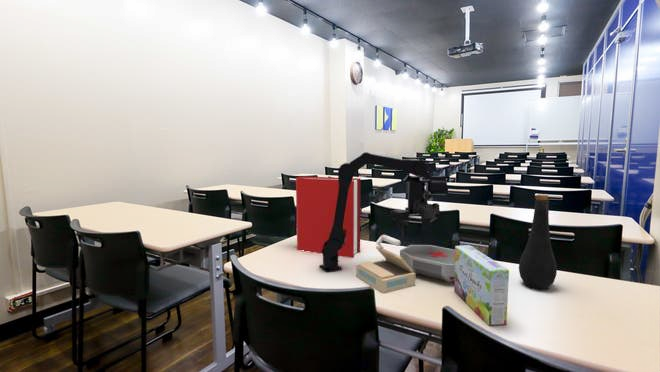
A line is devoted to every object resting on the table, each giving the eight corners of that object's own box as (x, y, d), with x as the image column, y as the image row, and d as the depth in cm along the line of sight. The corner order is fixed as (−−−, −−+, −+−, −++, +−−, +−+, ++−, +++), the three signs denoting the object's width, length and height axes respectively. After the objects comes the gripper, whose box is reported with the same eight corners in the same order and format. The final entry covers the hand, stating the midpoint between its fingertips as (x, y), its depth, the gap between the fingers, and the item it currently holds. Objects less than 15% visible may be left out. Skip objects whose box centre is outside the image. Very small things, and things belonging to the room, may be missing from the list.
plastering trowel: (369, 241, 122) (378, 231, 124) (386, 260, 127) (394, 250, 128) (394, 252, 110) (403, 240, 111) (412, 273, 114) (420, 261, 116)
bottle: (523, 276, 121) (529, 191, 117) (559, 285, 113) (566, 195, 110) (513, 285, 113) (518, 195, 110) (550, 295, 106) (557, 198, 102)
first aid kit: (393, 273, 125) (463, 291, 109) (394, 253, 124) (464, 268, 108) (415, 260, 139) (480, 275, 123) (416, 242, 138) (481, 255, 122)
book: (360, 252, 149) (360, 178, 145) (353, 257, 142) (353, 180, 138) (304, 245, 160) (303, 176, 156) (295, 250, 153) (294, 177, 149)
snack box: (452, 291, 110) (453, 245, 108) (469, 290, 110) (471, 244, 108) (487, 326, 89) (490, 269, 87) (508, 325, 89) (511, 269, 87)
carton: (355, 276, 122) (355, 263, 122) (386, 269, 128) (386, 257, 128) (382, 293, 108) (383, 278, 108) (415, 285, 114) (415, 271, 114)
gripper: (410, 199, 113) (408, 245, 115) (452, 196, 121) (450, 239, 123) (389, 194, 123) (388, 237, 125) (430, 191, 131) (428, 232, 133)
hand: (414, 236), depth 126 cm, fingers open, 9 cm apart
